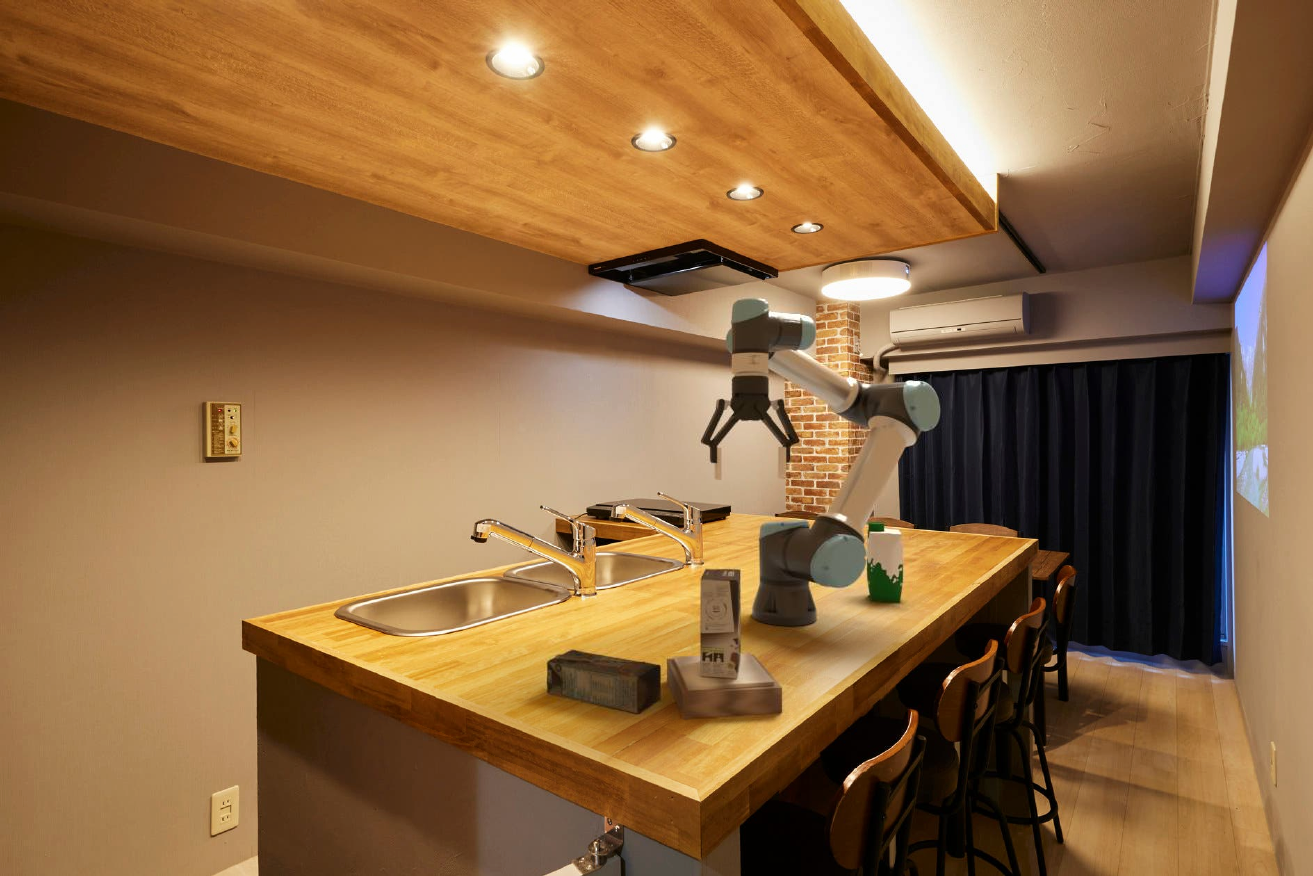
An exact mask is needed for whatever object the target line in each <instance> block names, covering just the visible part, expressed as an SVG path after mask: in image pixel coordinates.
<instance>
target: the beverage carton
mask: <svg viewBox="0 0 1313 876" xmlns="http://www.w3.org/2000/svg"><path fill="white" fill-rule="evenodd" d="M661 667H662V666H661V665H660V664H655V663H651V662H648V661H647V662H646V661H643V660H642V661H639V660H638V661H637V660H632V659H626V658H621V657H614V656H607V655H604V654H603V655H602V654H597V653H591V652H585V651H581V650H575V649H570V650H568V651H566V652H564V653H559V654H556V655H555V656H554V657H553V658H551V659H549V660H547V662H546V669H547V670H546V693H547V694H550V695H554V696H559V697H563V698H567V699H571V700H574V701H580V702H584V703H587V704H588V703H589V704H592V705H598V706H604V707H607V708H608V707H609V708H613V709H617V710H621V711H626V712H630V713H635V714H640V713H641V712H643V711H644V710H645V709H647V708H648V707H651V706H652V705H654V704H655V703H656V702H658V701H660V700H661V694H662V691H661V690H662V689H661V688H662V687H661V686H662V682H661V681H662V668H661Z"/></svg>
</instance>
